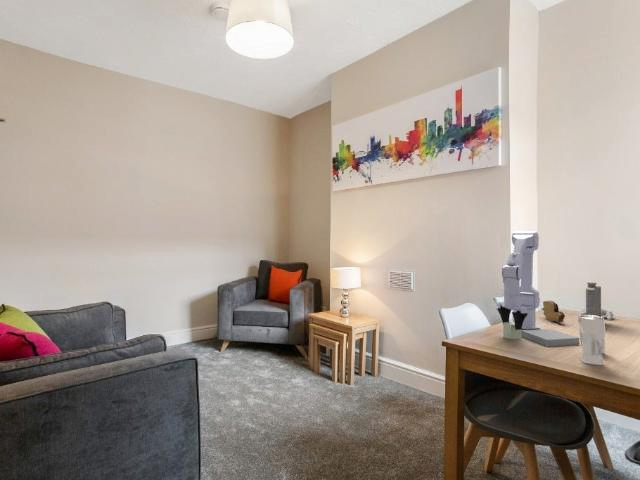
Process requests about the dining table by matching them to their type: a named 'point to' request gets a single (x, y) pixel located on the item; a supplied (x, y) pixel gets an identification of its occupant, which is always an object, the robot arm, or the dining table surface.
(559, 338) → the slate block
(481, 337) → the dining table surface
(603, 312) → the seahorse
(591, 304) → the hip flask
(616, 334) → the dining table surface
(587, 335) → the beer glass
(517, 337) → the sage block
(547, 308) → the wooden carving
